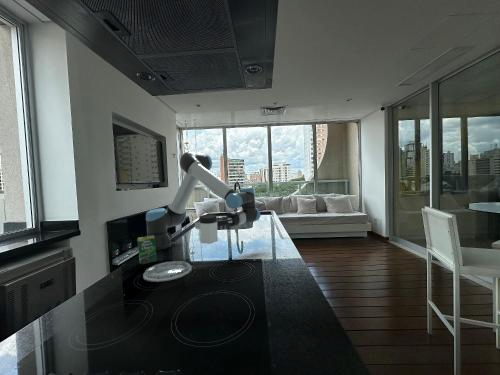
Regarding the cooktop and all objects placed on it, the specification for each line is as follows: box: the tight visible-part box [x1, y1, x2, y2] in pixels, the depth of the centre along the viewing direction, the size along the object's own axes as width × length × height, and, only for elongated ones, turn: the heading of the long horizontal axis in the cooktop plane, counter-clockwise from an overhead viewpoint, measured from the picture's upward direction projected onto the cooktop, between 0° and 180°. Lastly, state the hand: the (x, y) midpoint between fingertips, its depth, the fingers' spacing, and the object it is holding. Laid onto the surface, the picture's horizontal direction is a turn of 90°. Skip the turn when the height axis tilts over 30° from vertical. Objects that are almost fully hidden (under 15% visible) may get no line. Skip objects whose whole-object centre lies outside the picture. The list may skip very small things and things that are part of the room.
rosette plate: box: [142, 260, 192, 283], centre depth 111 cm, size 20×20×2 cm
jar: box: [198, 214, 219, 244], centre depth 122 cm, size 9×8×12 cm
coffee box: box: [137, 235, 158, 265], centre depth 128 cm, size 8×3×13 cm, turn 117°
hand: (196, 226), depth 122 cm, fingers closed on jar
